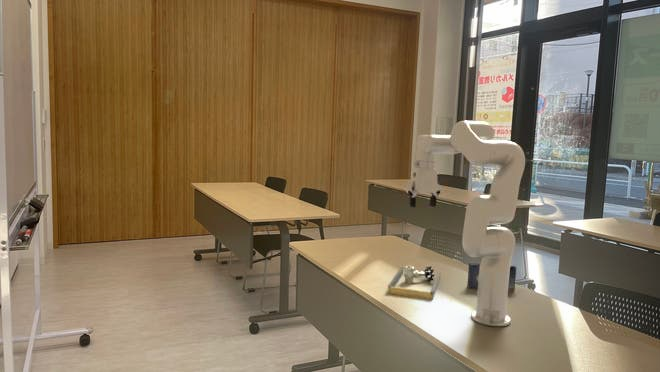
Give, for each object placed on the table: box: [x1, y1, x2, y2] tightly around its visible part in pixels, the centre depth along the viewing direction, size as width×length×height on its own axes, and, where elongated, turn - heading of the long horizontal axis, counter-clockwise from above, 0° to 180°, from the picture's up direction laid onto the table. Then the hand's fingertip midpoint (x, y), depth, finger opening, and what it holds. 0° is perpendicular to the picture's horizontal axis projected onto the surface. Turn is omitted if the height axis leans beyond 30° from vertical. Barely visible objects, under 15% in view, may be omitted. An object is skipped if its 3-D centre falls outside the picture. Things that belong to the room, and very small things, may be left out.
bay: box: [387, 266, 442, 301], centre depth 200 cm, size 28×17×3 cm, turn 162°
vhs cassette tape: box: [466, 262, 517, 292], centre depth 199 cm, size 18×3×10 cm, turn 84°
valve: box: [403, 265, 436, 285], centre depth 205 cm, size 7×7×12 cm
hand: (422, 206), depth 204 cm, fingers open, 9 cm apart
